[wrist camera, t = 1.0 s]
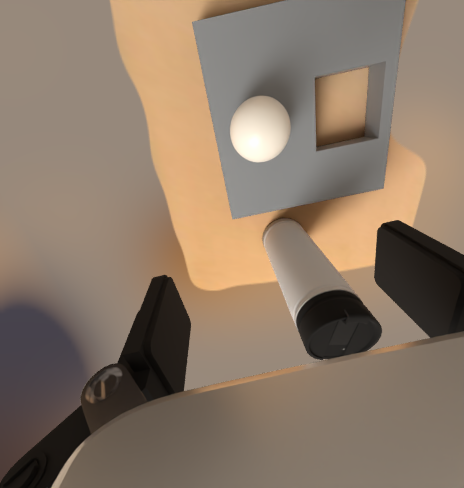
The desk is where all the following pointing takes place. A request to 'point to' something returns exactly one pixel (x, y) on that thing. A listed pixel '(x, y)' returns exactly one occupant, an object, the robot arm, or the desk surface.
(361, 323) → the travel mug
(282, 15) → the plate
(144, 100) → the desk surface
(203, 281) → the desk surface
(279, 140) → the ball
